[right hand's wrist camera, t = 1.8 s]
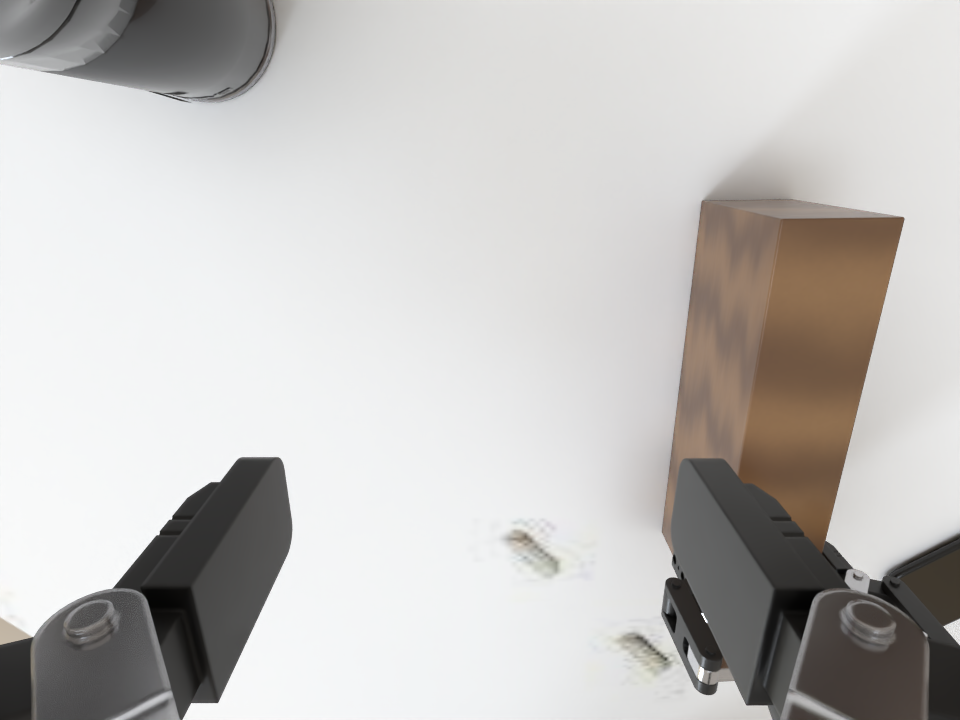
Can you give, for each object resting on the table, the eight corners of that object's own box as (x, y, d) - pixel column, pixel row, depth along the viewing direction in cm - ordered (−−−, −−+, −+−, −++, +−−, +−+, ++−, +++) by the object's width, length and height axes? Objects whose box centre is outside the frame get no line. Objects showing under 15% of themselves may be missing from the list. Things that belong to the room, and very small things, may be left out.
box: (701, 200, 38) (781, 218, 28) (792, 199, 38) (906, 217, 28) (661, 531, 47) (709, 635, 37) (734, 531, 47) (802, 635, 37)
